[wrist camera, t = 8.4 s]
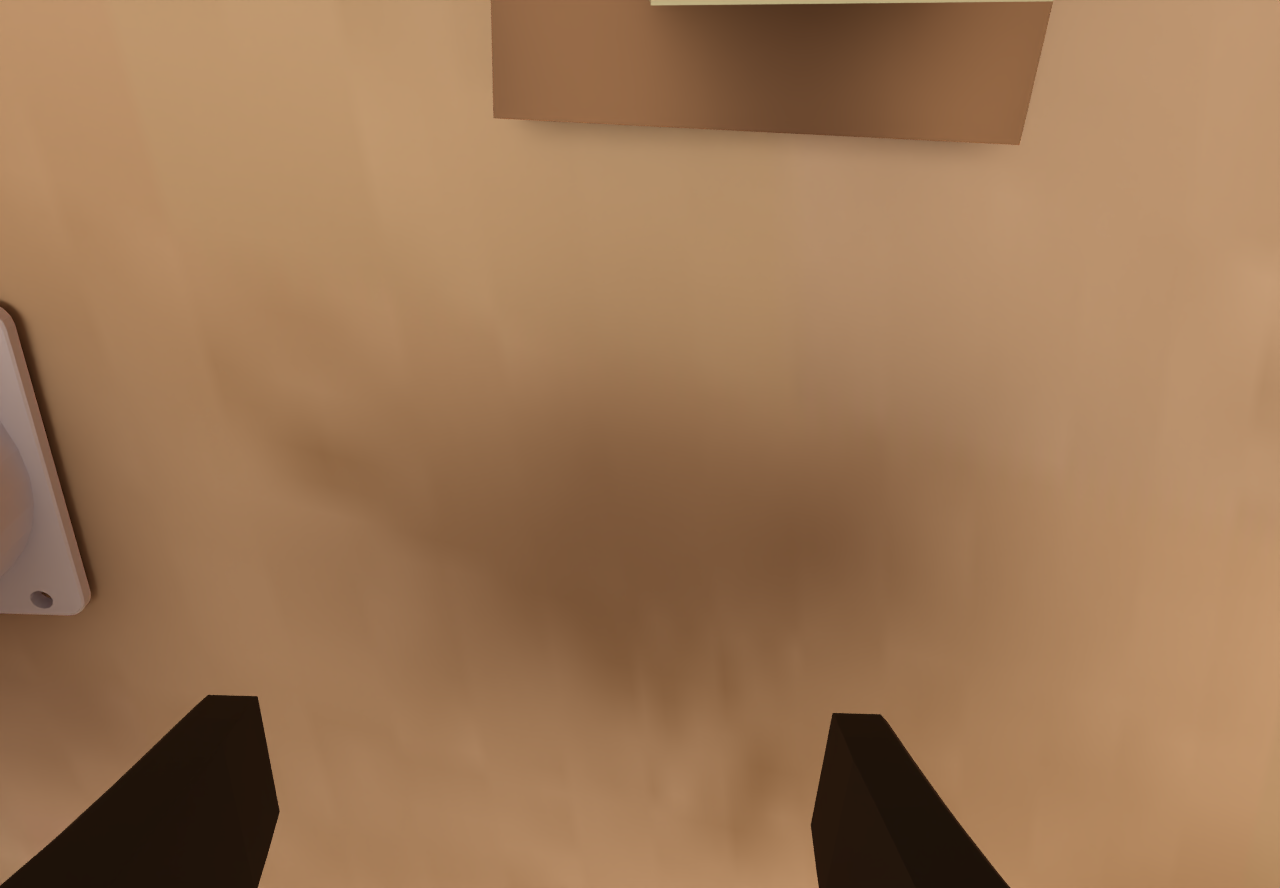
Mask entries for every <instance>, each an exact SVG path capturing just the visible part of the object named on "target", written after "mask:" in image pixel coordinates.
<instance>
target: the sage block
mask: <svg viewBox="0 0 1280 888" xmlns="http://www.w3.org/2000/svg"><path fill="white" fill-rule="evenodd" d="M1036 1H1053V0H649V2H650V4H651V5H743V4H841V3H938V2H1036Z"/></svg>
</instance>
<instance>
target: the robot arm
mask: <svg viewBox="0 0 1280 888" xmlns="http://www.w3.org/2000/svg"><path fill="white" fill-rule="evenodd" d="M41 592H45V593H47V594H48V595H50V597H51V598H48V597H46V596H45V595H43V594H42V593H41ZM90 599H91V592H90V588H89V585H88V581H87V578H86V574H85V571H84V567H83V563H82V560H81V556H80V553H79V549H78V546H77V542H76V539H75V535H74V532H73V528H72V524H71V521H70V517H69V514H68V510H67V507H66V503H65V500H64V496H63V493H62V489H61V486H60V482H59V478H58V475H57V471H56V468H55V464H54V461H53V457H52V454H51V450H50V447H49V443H48V439H47V436H46V432H45V429H44V425H43V422H42V418H41V415H40V411H39V408H38V404H37V400H36V397H35V393H34V390H33V386H32V383H31V379H30V376H29V372H28V369H27V365H26V361H25V358H24V354H23V351H22V347H21V344H20V340H19V337H18V333H17V330H16V326H15V324H14V322H13V320H12V317H11V316H10V315H9V314H8V313H7V312H6V311H5V310H4V309H3V308H1V307H0V613H2V614H34V615H65V616H69V615H76V614H78V613H80V612H81V611H82V610H83V609H84V608H85V607H86V605H87V604H88V603H89V601H90ZM278 815H279V806H278V801H277V796H276V791H275V785H274V780H273V775H272V770H271V764H270V759H269V754H268V749H267V743H266V738H265V733H264V728H263V722H262V717H261V712H260V707H259V701H258V696H226V695H208V696H206V697H205V698H204V699H203V700H202V701H201V702H200V703H199V704H197V705H196V706H195V707H194V708H193V709H192V710H191V711H190V712H189V713H188V714H187V715H186V716H185V717H184V718H183V719H182V720H180V721H179V722H178V723H177V724H176V725H175V726H174V727H173V728H172V729H171V730H170V731H169V732H168V733H167V734H166V735H165V736H164V737H163V738H162V739H161V740H160V741H159V742H158V743H157V744H156V745H155V746H154V747H153V748H151V749H150V750H149V751H148V752H147V753H146V754H145V755H144V756H143V757H142V758H141V759H140V760H139V761H138V762H137V763H136V764H135V765H134V766H133V767H132V768H131V769H130V770H129V771H127V772H126V773H125V774H124V775H123V776H122V777H121V778H120V779H119V780H118V781H117V782H116V783H115V784H114V785H113V786H112V787H111V788H110V789H108V790H107V791H106V792H105V793H104V794H103V795H102V796H101V797H100V798H99V799H98V800H97V801H95V802H94V803H93V804H92V805H91V806H90V807H89V808H88V809H87V810H86V811H85V812H83V813H82V814H81V815H80V816H79V817H78V818H77V819H76V820H75V821H74V822H73V823H72V824H70V825H69V826H68V827H67V828H66V829H65V830H64V831H63V832H62V833H61V834H60V835H58V836H57V837H56V838H55V839H54V840H53V841H52V842H51V843H49V844H48V845H47V846H46V847H45V848H44V849H43V850H41V851H40V852H39V853H38V854H37V855H36V856H34V857H33V858H32V859H31V860H30V861H29V862H27V863H26V864H25V865H24V866H23V867H22V868H20V869H19V870H18V871H17V872H16V873H14V874H13V875H12V876H11V877H10V878H9V879H7V880H6V881H5V882H4V883H3V884H2V885H0V888H258V884H259V881H260V878H261V875H262V871H263V868H264V865H265V861H266V858H267V855H268V851H269V848H270V844H271V840H272V837H273V833H274V830H275V826H276V823H277V819H278ZM811 830H812V838H813V846H814V854H815V862H816V870H817V877H818V884H819V888H1010V887H1009V886H1008V885H1007V883H1006V882H1005V881H1004V880H1003V878H1002V877H1001V876H1000V875H999V874H998V872H997V871H996V870H995V869H994V867H993V866H992V865H991V863H990V862H989V861H988V860H987V858H986V857H985V856H984V854H983V853H982V852H981V851H980V849H979V848H978V847H977V846H976V844H975V843H974V842H973V840H972V839H971V838H970V837H969V835H968V834H967V833H966V831H965V830H964V829H963V828H962V826H961V825H960V824H959V822H958V821H957V820H956V818H955V817H954V816H953V814H952V813H951V812H950V810H949V809H948V808H947V806H946V805H945V803H944V802H943V801H942V799H941V798H940V797H939V795H938V794H937V792H936V791H935V790H934V788H933V787H932V786H931V784H930V783H929V781H928V780H927V779H926V777H925V776H924V774H923V773H922V771H921V770H920V769H919V767H918V766H917V764H916V763H915V762H914V760H913V759H912V757H911V756H910V754H909V753H908V751H907V750H906V749H905V747H904V746H903V744H902V743H901V741H900V740H899V738H898V737H897V735H896V734H895V732H894V731H893V730H892V728H891V727H890V725H889V724H888V722H887V721H886V720H885V719H884V718H883V717H882V716H881V715H880V714H846V713H833V714H832V719H831V724H830V729H829V735H828V740H827V745H826V750H825V755H824V760H823V765H822V771H821V776H820V781H819V786H818V791H817V796H816V801H815V807H814V812H813V817H812V822H811Z"/></svg>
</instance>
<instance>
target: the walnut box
mask: <svg viewBox="0 0 1280 888" xmlns="http://www.w3.org/2000/svg"><path fill="white" fill-rule="evenodd" d="M1052 3H1053V1H1036V2H938V3H841V4H743V5H651V4H650V2H649V0H491V23H492V67H493V111H494V118H500V119H520V120H539V121H559V122H579V123H598V124H618V125H638V126H657V127H677V128H697V129H716V130H736V131H756V132H775V133H795V134H815V135H834V136H854V137H874V138H893V139H913V140H933V141H953V142H972V143H992V144H1011V145H1019V144H1020V140H1021V136H1022V132H1023V127H1024V123H1025V119H1026V114H1027V110H1028V106H1029V102H1030V97H1031V93H1032V89H1033V85H1034V80H1035V76H1036V72H1037V68H1038V63H1039V59H1040V55H1041V50H1042V46H1043V42H1044V38H1045V33H1046V29H1047V25H1048V21H1049V16H1050V12H1051V8H1052Z"/></svg>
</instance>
